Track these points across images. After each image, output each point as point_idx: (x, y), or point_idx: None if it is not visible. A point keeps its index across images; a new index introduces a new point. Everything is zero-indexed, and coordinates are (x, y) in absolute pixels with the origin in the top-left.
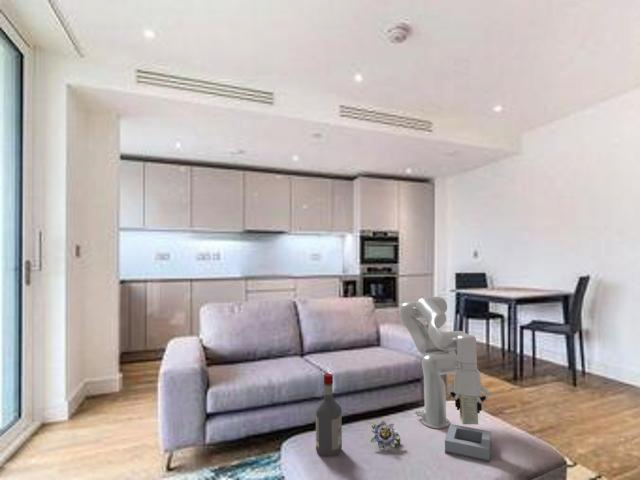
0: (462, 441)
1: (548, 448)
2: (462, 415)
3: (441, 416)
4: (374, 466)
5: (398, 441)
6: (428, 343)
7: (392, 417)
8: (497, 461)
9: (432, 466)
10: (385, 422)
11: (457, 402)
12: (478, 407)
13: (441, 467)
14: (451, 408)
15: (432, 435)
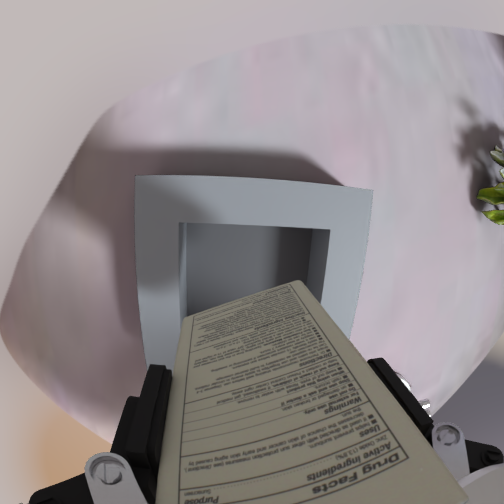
0: (282, 210)
1: (17, 362)
2: (325, 311)
3: None
4: (488, 62)
5: (487, 196)
6: None
7: (470, 368)
8: (122, 204)
9: (375, 71)
10: None
11: (414, 406)
12: (145, 408)
13: (345, 69)
14: None
15: (387, 321)
